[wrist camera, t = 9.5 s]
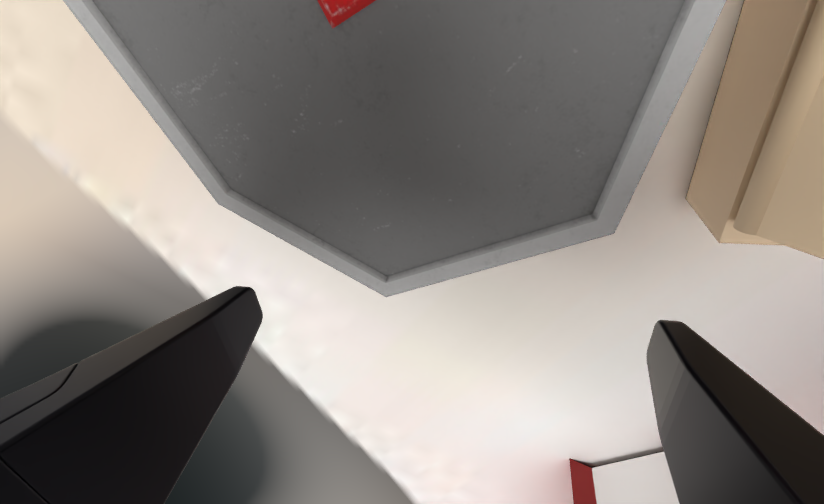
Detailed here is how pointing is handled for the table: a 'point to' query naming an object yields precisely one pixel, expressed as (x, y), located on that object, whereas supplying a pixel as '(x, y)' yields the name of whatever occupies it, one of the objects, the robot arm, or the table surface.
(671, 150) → the table surface
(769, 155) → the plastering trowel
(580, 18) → the first aid kit
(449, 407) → the table surface
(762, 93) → the carton
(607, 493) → the book
